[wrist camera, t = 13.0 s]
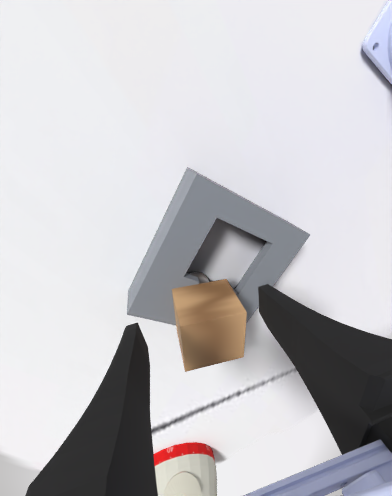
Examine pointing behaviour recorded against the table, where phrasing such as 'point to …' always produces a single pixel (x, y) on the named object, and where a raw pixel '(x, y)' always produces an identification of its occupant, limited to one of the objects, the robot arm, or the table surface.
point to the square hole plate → (191, 238)
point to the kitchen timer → (186, 470)
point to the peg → (209, 322)
